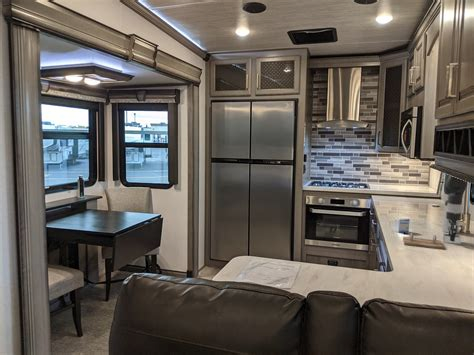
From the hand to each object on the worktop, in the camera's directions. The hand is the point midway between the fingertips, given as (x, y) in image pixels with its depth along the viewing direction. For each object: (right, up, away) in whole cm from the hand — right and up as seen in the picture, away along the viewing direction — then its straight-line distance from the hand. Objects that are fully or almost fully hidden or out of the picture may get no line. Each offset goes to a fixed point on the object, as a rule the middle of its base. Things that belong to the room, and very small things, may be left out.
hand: (451, 239), depth 219 cm
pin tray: (-19, -2, -4) cm, 20 cm away
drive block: (0, -2, 0) cm, 2 cm away
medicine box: (-20, +1, +21) cm, 29 cm away
